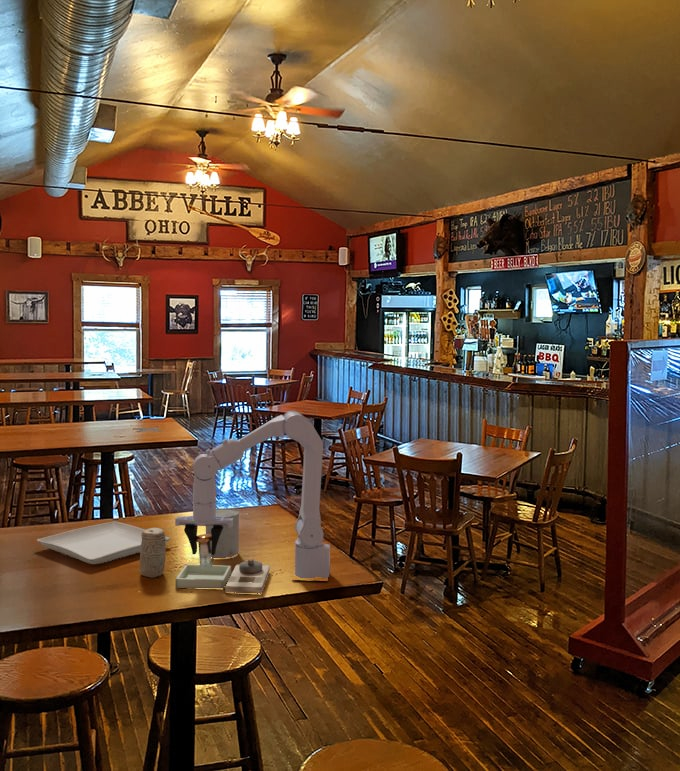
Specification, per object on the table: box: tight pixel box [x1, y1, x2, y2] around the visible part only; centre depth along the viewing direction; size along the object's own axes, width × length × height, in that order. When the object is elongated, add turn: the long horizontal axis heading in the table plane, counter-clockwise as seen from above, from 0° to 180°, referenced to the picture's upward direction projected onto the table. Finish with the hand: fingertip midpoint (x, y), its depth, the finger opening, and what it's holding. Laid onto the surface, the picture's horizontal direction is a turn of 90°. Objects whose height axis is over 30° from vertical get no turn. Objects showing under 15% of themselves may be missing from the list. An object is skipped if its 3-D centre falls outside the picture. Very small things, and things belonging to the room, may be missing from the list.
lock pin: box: [195, 533, 213, 569], centre depth 189 cm, size 4×4×8 cm
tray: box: [175, 563, 232, 590], centre depth 189 cm, size 12×11×2 cm
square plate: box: [36, 520, 171, 565], centre depth 214 cm, size 27×27×4 cm
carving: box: [139, 527, 167, 579], centre depth 193 cm, size 6×8×12 cm
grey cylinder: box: [205, 507, 240, 558], centre depth 211 cm, size 10×10×12 cm
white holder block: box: [224, 558, 271, 594], centre depth 189 cm, size 9×16×5 cm, turn 178°
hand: (204, 553), depth 189 cm, fingers closed on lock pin, 4 cm apart
